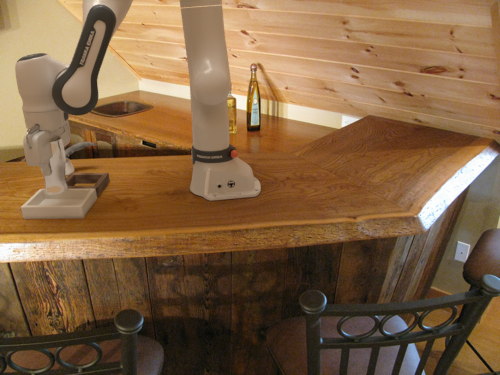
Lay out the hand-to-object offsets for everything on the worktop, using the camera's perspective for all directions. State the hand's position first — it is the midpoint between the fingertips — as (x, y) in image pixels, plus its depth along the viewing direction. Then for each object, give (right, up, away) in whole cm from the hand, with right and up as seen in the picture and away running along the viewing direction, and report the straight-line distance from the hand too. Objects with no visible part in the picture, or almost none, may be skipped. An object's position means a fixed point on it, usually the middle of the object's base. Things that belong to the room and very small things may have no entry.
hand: (54, 169), depth 110 cm
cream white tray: (0, -11, +5) cm, 12 cm away
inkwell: (-8, +1, +32) cm, 33 cm away
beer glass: (0, -6, +3) cm, 6 cm away
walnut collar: (+1, -5, +17) cm, 18 cm away
